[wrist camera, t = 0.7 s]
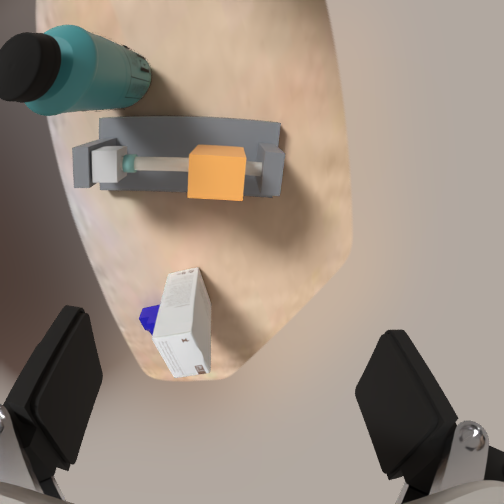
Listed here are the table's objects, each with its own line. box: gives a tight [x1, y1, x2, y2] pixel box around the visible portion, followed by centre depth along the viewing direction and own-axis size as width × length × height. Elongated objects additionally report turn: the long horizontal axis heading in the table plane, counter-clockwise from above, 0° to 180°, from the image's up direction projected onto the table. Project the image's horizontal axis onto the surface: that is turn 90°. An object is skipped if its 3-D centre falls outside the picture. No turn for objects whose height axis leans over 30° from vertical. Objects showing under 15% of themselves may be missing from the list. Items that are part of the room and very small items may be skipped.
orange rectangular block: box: [187, 145, 246, 201], centre depth 24 cm, size 3×4×6 cm
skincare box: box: [152, 267, 211, 378], centre depth 34 cm, size 6×4×12 cm
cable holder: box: [139, 305, 160, 336], centre depth 40 cm, size 8×4×4 cm, turn 14°
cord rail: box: [72, 116, 285, 198], centre depth 28 cm, size 8×19×9 cm, turn 85°
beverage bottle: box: [0, 25, 152, 116], centre depth 19 cm, size 6×7×20 cm
